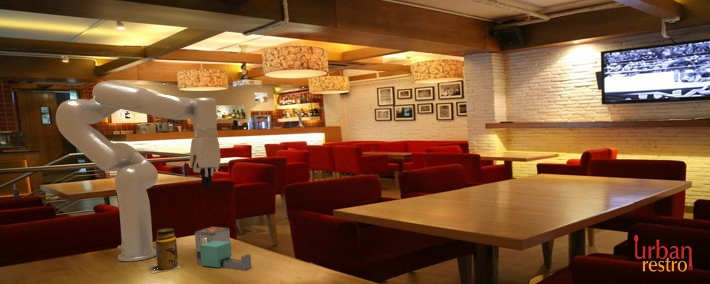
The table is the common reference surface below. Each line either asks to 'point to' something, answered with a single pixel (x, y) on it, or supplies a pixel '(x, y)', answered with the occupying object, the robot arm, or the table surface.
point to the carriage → (215, 252)
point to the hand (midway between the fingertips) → (207, 187)
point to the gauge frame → (211, 236)
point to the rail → (232, 262)
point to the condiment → (166, 251)
